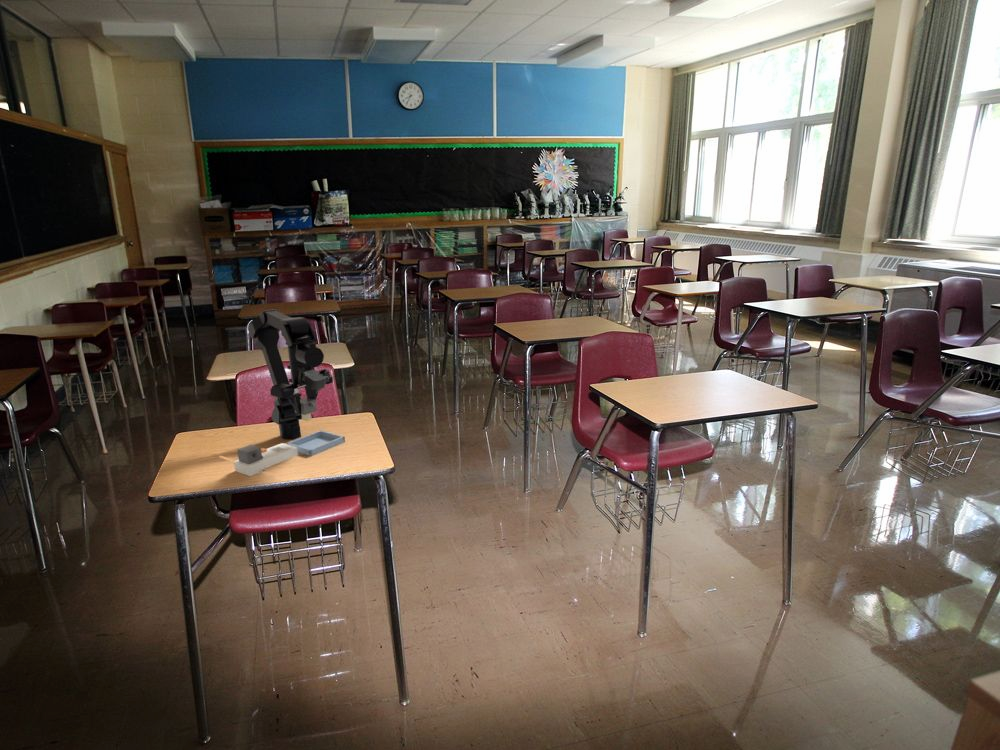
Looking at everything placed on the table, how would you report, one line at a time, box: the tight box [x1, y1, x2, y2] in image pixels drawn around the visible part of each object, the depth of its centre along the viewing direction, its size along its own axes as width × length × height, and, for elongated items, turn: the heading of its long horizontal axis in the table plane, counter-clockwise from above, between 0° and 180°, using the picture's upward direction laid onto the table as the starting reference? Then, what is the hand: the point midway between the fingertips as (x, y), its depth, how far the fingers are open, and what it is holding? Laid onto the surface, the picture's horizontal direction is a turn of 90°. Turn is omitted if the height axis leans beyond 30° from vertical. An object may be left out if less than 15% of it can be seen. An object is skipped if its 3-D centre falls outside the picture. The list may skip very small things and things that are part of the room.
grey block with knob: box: [295, 397, 317, 422], centre depth 185 cm, size 6×4×6 cm
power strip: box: [233, 442, 299, 477], centre depth 178 cm, size 9×16×6 cm, turn 145°
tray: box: [286, 429, 346, 457], centre depth 190 cm, size 11×13×2 cm
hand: (305, 411), depth 186 cm, fingers closed on grey block with knob, 4 cm apart
